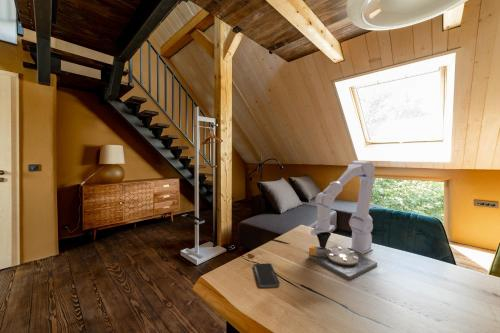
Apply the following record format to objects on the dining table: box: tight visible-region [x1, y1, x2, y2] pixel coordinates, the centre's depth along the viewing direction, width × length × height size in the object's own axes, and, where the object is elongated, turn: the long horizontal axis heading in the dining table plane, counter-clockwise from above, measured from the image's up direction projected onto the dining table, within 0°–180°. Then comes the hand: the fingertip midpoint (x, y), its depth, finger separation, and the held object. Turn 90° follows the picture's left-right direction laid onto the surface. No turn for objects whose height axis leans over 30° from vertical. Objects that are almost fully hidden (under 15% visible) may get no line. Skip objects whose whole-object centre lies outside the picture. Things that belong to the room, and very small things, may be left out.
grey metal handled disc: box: [308, 245, 359, 266], centre depth 95 cm, size 13×20×3 cm, turn 77°
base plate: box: [308, 244, 378, 281], centre depth 94 cm, size 20×20×2 cm
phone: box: [252, 263, 280, 289], centre depth 83 cm, size 8×1×15 cm
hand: (322, 247), depth 100 cm, fingers closed
